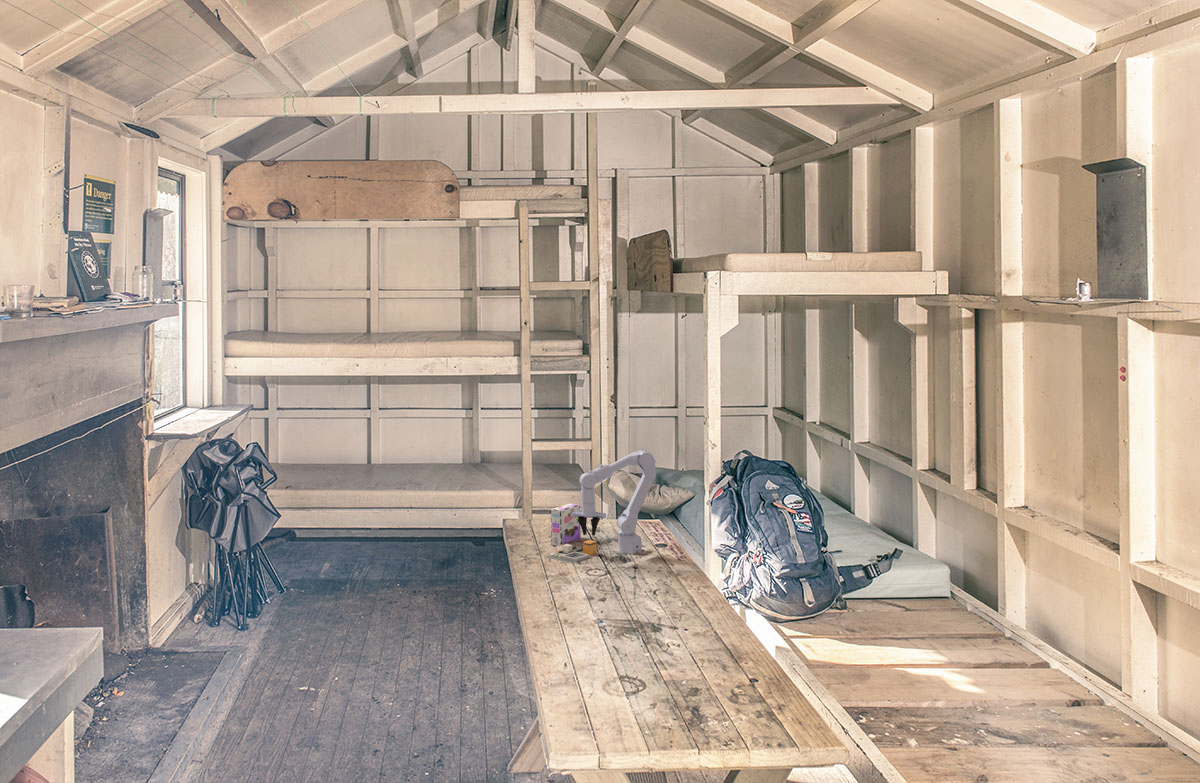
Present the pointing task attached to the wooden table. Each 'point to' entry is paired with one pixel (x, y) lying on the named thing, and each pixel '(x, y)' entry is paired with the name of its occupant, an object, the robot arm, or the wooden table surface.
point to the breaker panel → (571, 555)
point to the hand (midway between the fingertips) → (589, 534)
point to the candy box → (564, 524)
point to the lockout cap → (590, 547)
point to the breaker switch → (567, 548)
